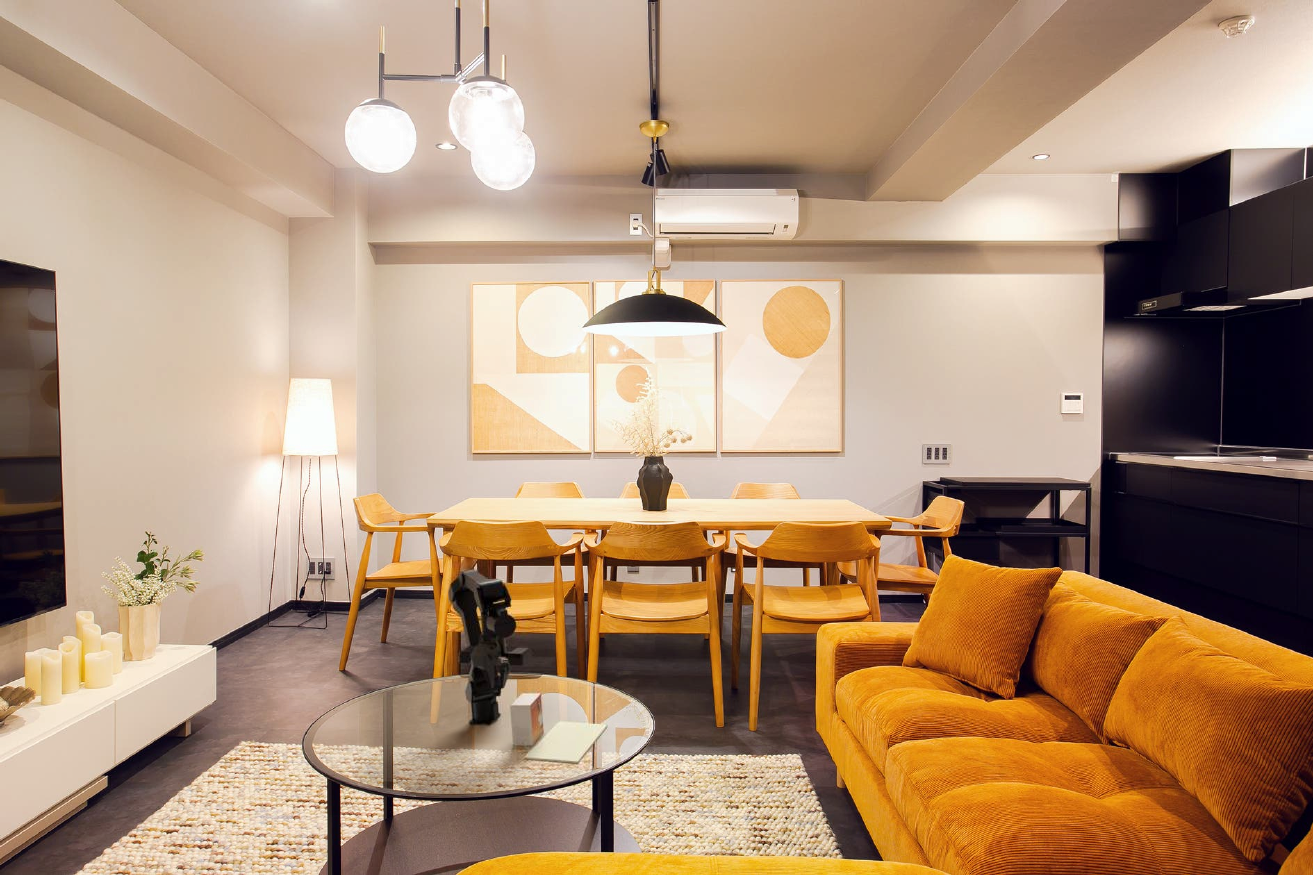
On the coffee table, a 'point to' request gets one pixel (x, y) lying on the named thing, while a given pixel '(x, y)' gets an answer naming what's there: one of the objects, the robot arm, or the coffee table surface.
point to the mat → (567, 742)
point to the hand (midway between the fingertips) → (497, 687)
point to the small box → (526, 719)
